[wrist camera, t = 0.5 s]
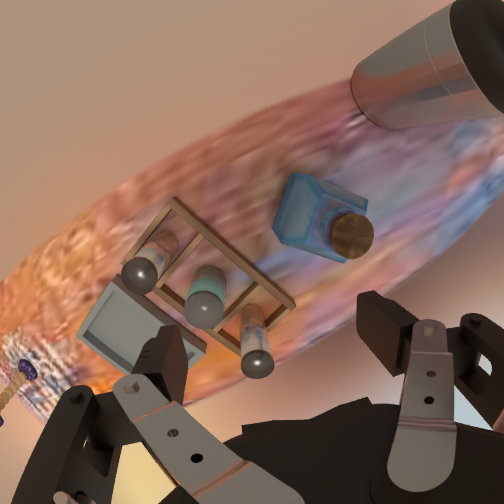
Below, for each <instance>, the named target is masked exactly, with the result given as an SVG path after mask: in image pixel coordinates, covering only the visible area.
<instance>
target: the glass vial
mask: <svg viewBox="0 0 504 504" xmlns="http://www.w3.org/2000/svg"><path fill="white" fill-rule="evenodd" d="M177 249H178V241H177V239H176V237H175V236H174V235H173V234H172V233H170V232H160V233H158V234H157V235H156V236H155V237H154V238H153V239H152V240H151V241H150V242H149V243H147V244H146V245H145V246H144V247H143V248H142V249H141V250H140V251H139V252H138V253H137V254H136V255H135V256H134V257H133V258H131V259H130V260H129V261H128V262H127V263H126V264H125V265H124V266H123V268H122V271H121V278H122V281H123V284H124V285H125V287H126V288H127V289H128V290H129V291H131V292H132V293H134V294H138V295H144V294H147V293H149V292H151V291H152V290H153V288H154V287H155V285H156V283H157V281H158V279H159V278H160V276H161V274H162V273H163V271H164V270H165V268H166V266H167V265H168V263H169V262H170V260H171V259H172V257H173V256H174V254H175V252H176V251H177Z"/></svg>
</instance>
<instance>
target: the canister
mask: <svg viewBox="0 0 504 504" xmlns="http://www.w3.org/2000/svg"><path fill="white" fill-rule="evenodd" d="M239 326H240V344H241V369H242V372H243V373H244V375H246V376H247V377H249V378H253V379H261V378H264V377H267V376H268V375H269V374H271V373H272V371H273V370H274V361H273V357H272V354H271V349H270V344H269V340H268V335H267V330H266V325H265V321H264V316H263V311H262V309H261V308H260V307H259V306H258V305H255V304H247V305H245V306H244V307H243V308H242V309H241V310H240V311H239Z"/></svg>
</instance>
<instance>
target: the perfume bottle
mask: <svg viewBox="0 0 504 504" xmlns="http://www.w3.org/2000/svg"><path fill="white" fill-rule="evenodd" d="M367 206H368V200H367V199H365V198H363V197H361V196H358V195H356V194H354V193H351V192H349V191H347V190H344V189H342V188H340V187H337V186H335V185H333V184H330V183H328V182H325V181H323V180H320V179H318V178H315V177H313V176H310V175H308V174H299V173H291V176H290V178H289V181H288V184H287V187H286V190H285V193H284V195H283V198H282V201H281V204H280V207H279V210H278V212H277V215H276V218H275V221H274V224H273V226H272V229H273V231H274V232H275V234H276V236H277V237H278V239H279V240H280V242H281V243H282V244H285V245H288V246H291V247H295V248H298V249H301V250H304V251H307V252H310V253H313V254H316V255H319V256H322V257H325V258H328V259H331V260H334V261H337V262H341V263H345V261H346V260H347V259H356V258H359V257H361V256H363V255H364V254H365V253H366V252H367V251H368V250H369V249H370V247H371V245H372V242H373V238H374V229H373V227H372V224H371V222H370V221H369V220H368V218H366V217H365V214H366V212H367Z"/></svg>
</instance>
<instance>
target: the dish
mask: <svg viewBox="0 0 504 504" xmlns="http://www.w3.org/2000/svg"><path fill="white" fill-rule="evenodd" d="M175 324H177V325H178V326H179V328H180V332H181V335H182V339H183V342H184V346H185V349H186V353H187V357H188V369H189V368H190V367H192V366H193V365H194V364H195V363H196V362H197V361H198V360H199V359H200V358H202V357H203V356H204V355H205V353H206V345H207V343H205V342H204V341H202V340H201V339H200V338H198V337H197V336H195V335H194V334H193V333H191V332H190V331H189V330H187V329H186V328H185V327H183V326H182V325H181V324H179V323H178V322H177V321H175V320H174V319H173V318H171V317H170V316H169V315H167V314H166V313H165V312H164V311H162V310H161V309H160V308H159V307H157V306H156V305H155V304H154V303H152V302H151V301H150V300H149V299H147V298H146V297H145V296H144V295H138V294H134V293H132V292H131V291H129V290H128V289H127V288H126V287H125V285H124V284H123V281H122V278H121V276H120V275H119V274H118V275H117V276H116V277H115V278H114V279H113V280H112V281H111V282H110V283H109V285H108V286H107V288H106V289H105V291H104V292H103V294H102V295H101V297H100V298H99V300H98V301H97V303H96V304H95V306H94V307H93V309H92V310H91V312H90V313H89V315H88V316H87V318H86V320H85V321H84V323H83V324H82V326H81V327H80V329H79V331H78V332H77V334H76V336H77V337H78V338H79V339H80V340H81V341H83V342H84V343H85V344H86V345H87V346H89V347H90V348H91V349H92V350H94V351H95V352H96V353H97V354H99V355H100V356H101V357H102V358H104V359H105V360H106V361H108V362H109V363H110V364H112V365H113V366H114V367H116V368H117V369H118V370H120V371H121V372H123V373H124V374H125V375H130V374H131V372H132V370H133V368H134V365H135V363H136V361H137V359H138V356H139V354H140V353H141V350H142V348H143V345H144V344H145V343H146V342H147V341H148V340H149V339H150V338H155V337H156V336H157V334H158V331H159V329H160V327H161V326H166V325H175Z"/></svg>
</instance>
